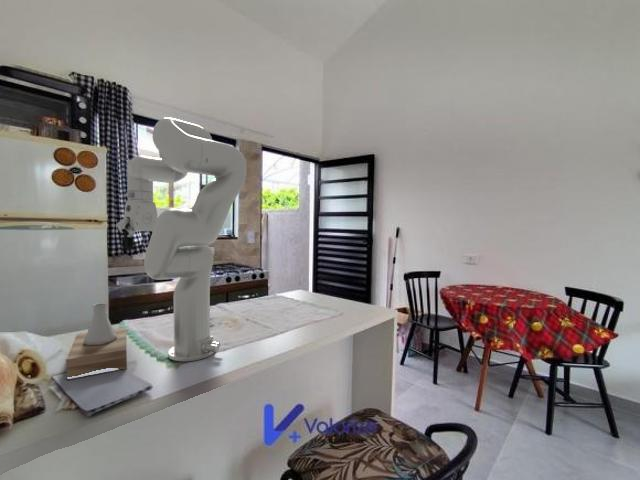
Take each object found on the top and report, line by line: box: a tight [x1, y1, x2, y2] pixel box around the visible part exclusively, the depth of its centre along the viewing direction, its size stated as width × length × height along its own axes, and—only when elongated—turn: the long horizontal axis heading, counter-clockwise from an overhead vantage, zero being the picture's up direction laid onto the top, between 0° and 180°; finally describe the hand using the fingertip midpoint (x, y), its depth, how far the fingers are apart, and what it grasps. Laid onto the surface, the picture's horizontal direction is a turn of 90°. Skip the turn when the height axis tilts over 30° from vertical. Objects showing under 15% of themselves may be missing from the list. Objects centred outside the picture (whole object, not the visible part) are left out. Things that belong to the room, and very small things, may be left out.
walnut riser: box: [65, 326, 128, 378], centre depth 86 cm, size 20×12×5 cm, turn 31°
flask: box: [83, 302, 118, 345], centre depth 86 cm, size 7×7×10 cm
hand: (141, 248), depth 109 cm, fingers open, 9 cm apart
